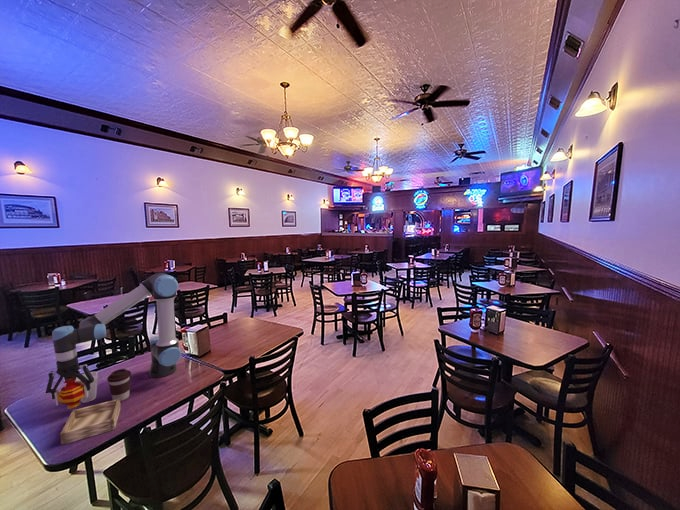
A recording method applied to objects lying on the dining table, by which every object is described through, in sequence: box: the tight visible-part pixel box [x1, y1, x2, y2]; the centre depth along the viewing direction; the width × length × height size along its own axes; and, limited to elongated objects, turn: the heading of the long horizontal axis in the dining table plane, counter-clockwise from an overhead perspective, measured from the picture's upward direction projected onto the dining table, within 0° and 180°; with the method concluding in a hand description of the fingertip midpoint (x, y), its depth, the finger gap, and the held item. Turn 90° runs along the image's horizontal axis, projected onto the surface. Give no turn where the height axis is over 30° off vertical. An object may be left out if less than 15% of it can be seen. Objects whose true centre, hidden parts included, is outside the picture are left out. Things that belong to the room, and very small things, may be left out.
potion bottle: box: [57, 375, 85, 410], centre depth 140 cm, size 10×10×15 cm
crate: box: [59, 398, 122, 446], centre depth 132 cm, size 18×18×5 cm
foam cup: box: [75, 371, 99, 404], centre depth 151 cm, size 10×9×13 cm
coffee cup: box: [106, 368, 132, 402], centre depth 152 cm, size 10×10×15 cm
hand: (72, 400), depth 140 cm, fingers closed on potion bottle, 10 cm apart
